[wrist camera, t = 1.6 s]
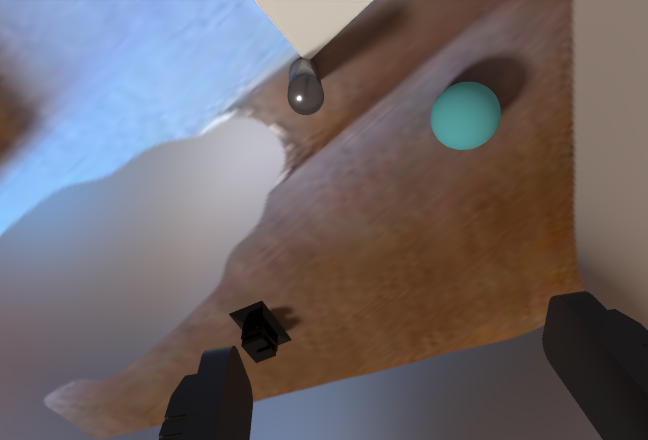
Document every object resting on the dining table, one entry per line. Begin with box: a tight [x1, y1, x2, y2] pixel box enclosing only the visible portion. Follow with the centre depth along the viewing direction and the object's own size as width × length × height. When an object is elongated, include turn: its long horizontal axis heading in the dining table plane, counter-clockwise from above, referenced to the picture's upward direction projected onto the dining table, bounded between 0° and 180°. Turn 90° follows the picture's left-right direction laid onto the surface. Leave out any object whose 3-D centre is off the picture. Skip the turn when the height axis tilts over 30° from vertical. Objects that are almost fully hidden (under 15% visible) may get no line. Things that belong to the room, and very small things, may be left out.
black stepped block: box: [229, 301, 291, 363], centre depth 50 cm, size 12×7×5 cm, turn 25°
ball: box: [431, 82, 501, 150], centre depth 35 cm, size 6×6×6 cm
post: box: [288, 58, 324, 115], centre depth 31 cm, size 3×3×9 cm
